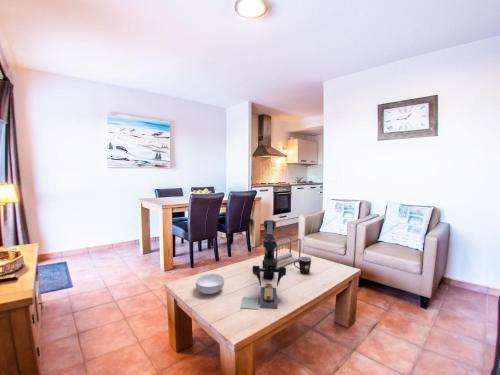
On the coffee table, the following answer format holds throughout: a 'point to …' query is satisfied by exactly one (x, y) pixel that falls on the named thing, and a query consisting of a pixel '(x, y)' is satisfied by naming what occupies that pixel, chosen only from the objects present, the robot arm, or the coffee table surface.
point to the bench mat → (249, 303)
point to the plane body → (268, 304)
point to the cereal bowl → (210, 283)
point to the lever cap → (268, 294)
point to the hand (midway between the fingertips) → (268, 285)
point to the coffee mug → (304, 265)
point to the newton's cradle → (287, 252)
